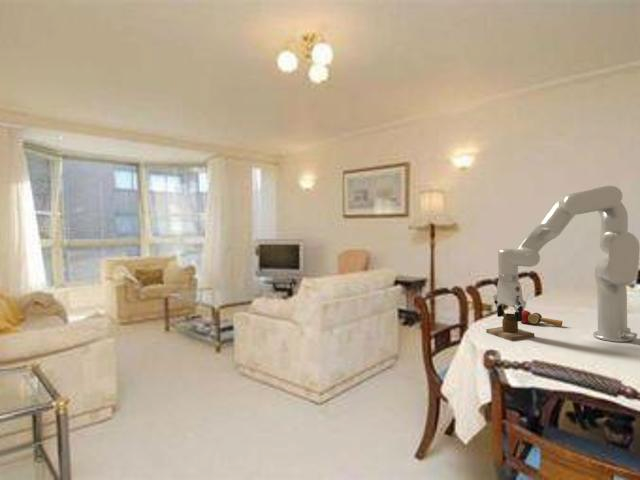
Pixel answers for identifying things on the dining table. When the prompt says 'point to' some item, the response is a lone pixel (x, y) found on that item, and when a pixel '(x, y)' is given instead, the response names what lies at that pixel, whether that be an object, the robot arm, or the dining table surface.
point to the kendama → (538, 319)
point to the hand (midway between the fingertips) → (509, 318)
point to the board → (510, 334)
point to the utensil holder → (509, 322)
